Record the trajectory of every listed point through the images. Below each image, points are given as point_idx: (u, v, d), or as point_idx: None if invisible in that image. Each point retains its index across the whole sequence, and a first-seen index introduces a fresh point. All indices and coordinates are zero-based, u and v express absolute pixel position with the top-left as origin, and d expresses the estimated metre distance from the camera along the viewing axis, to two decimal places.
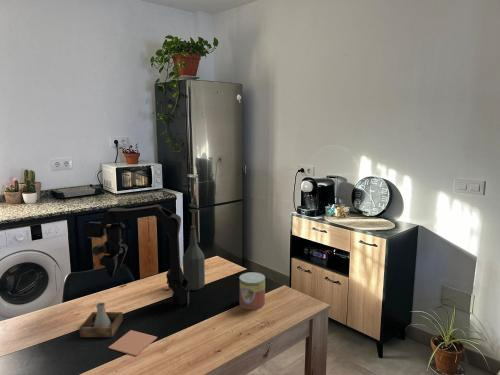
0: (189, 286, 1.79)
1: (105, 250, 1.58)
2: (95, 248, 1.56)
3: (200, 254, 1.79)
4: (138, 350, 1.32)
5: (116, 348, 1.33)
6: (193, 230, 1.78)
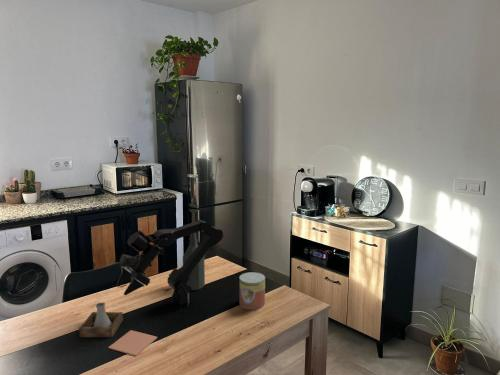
0: None
1: (137, 265, 1.48)
2: (133, 259, 1.45)
3: None
4: (138, 350, 1.32)
5: (116, 348, 1.33)
6: None
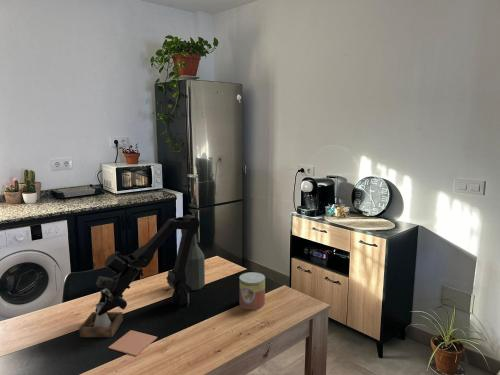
0: None
1: (114, 288, 1.44)
2: (110, 282, 1.41)
3: (200, 254, 1.79)
4: (138, 350, 1.32)
5: (116, 348, 1.33)
6: None
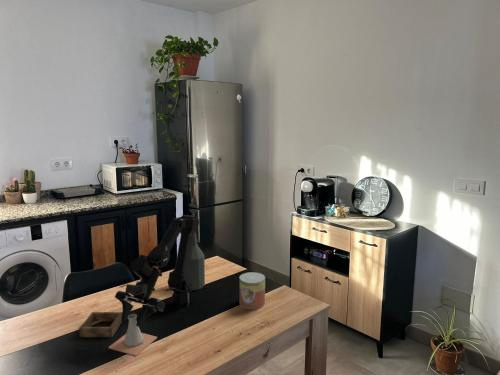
0: None
1: (145, 293, 1.37)
2: (145, 286, 1.34)
3: (200, 254, 1.79)
4: (138, 350, 1.32)
5: (116, 348, 1.33)
6: None
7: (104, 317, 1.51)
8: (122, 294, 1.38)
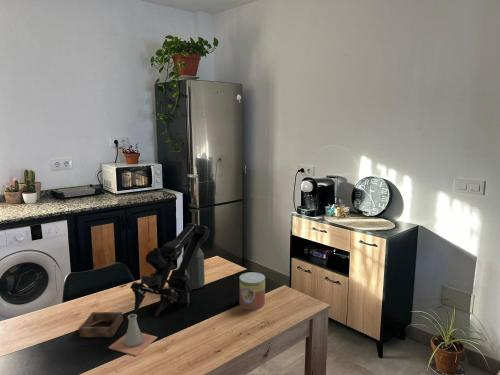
0: None
1: (160, 283, 1.45)
2: (160, 277, 1.42)
3: (199, 252, 1.80)
4: (138, 350, 1.32)
5: (116, 348, 1.33)
6: None
7: (104, 317, 1.51)
8: (137, 285, 1.46)
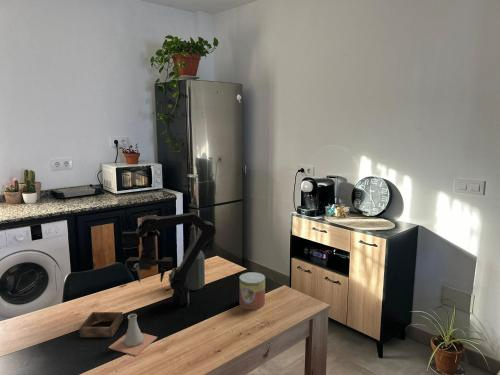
0: (189, 286, 1.79)
1: None
2: (155, 259, 1.52)
3: (200, 254, 1.79)
4: (138, 350, 1.32)
5: (116, 348, 1.33)
6: (193, 230, 1.78)
7: (104, 317, 1.51)
8: (132, 264, 1.55)
